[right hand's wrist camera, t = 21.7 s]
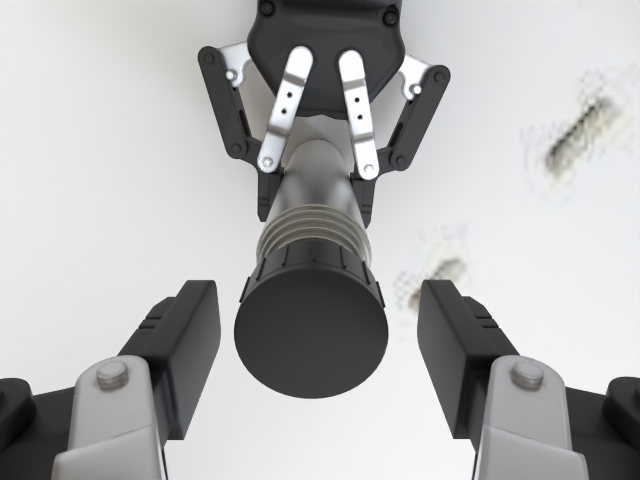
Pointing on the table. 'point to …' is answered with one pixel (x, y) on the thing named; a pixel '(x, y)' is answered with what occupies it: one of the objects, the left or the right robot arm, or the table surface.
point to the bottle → (315, 204)
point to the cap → (311, 321)
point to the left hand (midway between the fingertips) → (313, 229)
